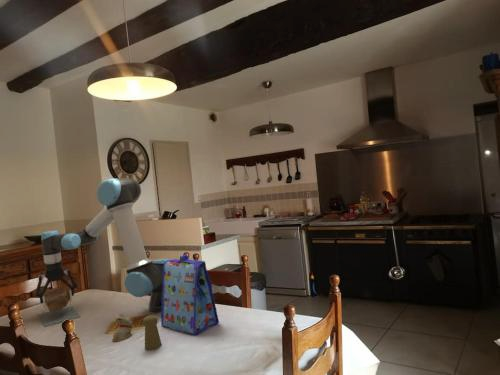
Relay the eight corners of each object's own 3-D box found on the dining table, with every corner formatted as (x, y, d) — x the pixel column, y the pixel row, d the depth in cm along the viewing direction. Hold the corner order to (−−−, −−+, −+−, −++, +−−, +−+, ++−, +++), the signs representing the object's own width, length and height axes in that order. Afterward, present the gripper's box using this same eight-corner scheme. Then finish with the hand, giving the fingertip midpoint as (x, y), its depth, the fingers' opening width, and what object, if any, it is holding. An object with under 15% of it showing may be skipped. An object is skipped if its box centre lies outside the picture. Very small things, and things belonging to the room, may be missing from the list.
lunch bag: (220, 323, 147) (211, 252, 147) (194, 336, 137) (185, 260, 136) (185, 315, 161) (177, 250, 161) (159, 327, 151) (151, 257, 151)
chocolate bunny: (133, 337, 143) (130, 312, 142) (112, 343, 140) (109, 317, 140) (133, 332, 148) (130, 308, 148) (112, 337, 145) (109, 312, 145)
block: (45, 305, 188) (50, 315, 171) (41, 292, 187) (44, 300, 170) (68, 296, 194) (74, 304, 177) (63, 283, 193) (69, 290, 176)
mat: (80, 317, 176) (80, 316, 176) (44, 327, 167) (44, 326, 167) (72, 306, 196) (72, 305, 196) (40, 314, 187) (40, 313, 187)
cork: (146, 352, 128) (142, 321, 128) (143, 346, 134) (139, 316, 133) (163, 346, 131) (160, 316, 131) (159, 341, 136) (156, 312, 136)
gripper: (77, 256, 191) (82, 298, 191) (25, 266, 178) (30, 311, 178) (80, 258, 184) (85, 301, 185) (25, 268, 171) (31, 314, 172)
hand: (58, 306), depth 181 cm, fingers closed on block, 11 cm apart
